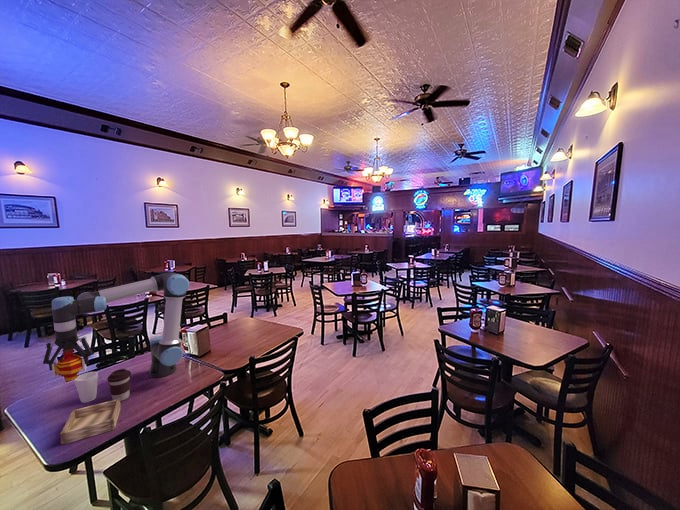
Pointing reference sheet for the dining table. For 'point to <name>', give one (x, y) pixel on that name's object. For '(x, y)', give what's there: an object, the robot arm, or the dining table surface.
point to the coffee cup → (119, 384)
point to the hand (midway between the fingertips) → (70, 372)
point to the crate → (91, 421)
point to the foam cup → (87, 386)
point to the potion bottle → (69, 365)
